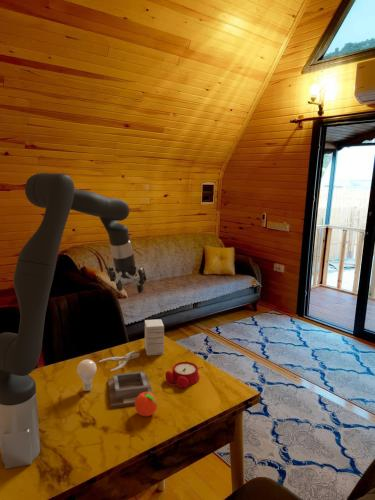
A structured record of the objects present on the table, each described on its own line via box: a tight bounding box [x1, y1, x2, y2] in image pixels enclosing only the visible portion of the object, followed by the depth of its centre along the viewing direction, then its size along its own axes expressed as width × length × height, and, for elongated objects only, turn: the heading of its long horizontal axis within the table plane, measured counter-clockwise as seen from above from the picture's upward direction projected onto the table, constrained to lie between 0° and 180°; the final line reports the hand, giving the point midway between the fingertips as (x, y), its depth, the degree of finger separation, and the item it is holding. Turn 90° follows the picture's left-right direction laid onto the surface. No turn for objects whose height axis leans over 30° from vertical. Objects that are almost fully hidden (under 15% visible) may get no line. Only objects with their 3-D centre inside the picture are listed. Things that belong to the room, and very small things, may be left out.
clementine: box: [134, 392, 158, 417], centre depth 114 cm, size 8×7×7 cm
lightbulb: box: [76, 359, 97, 392], centre depth 125 cm, size 6×6×11 cm
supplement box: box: [144, 319, 165, 356], centre depth 154 cm, size 7×7×13 cm
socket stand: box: [107, 370, 154, 409], centre depth 126 cm, size 16×14×4 cm
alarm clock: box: [165, 360, 204, 389], centre depth 134 cm, size 10×6×15 cm
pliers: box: [98, 350, 140, 373], centre depth 147 cm, size 10×2×15 cm
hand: (130, 291), depth 141 cm, fingers open, 8 cm apart
